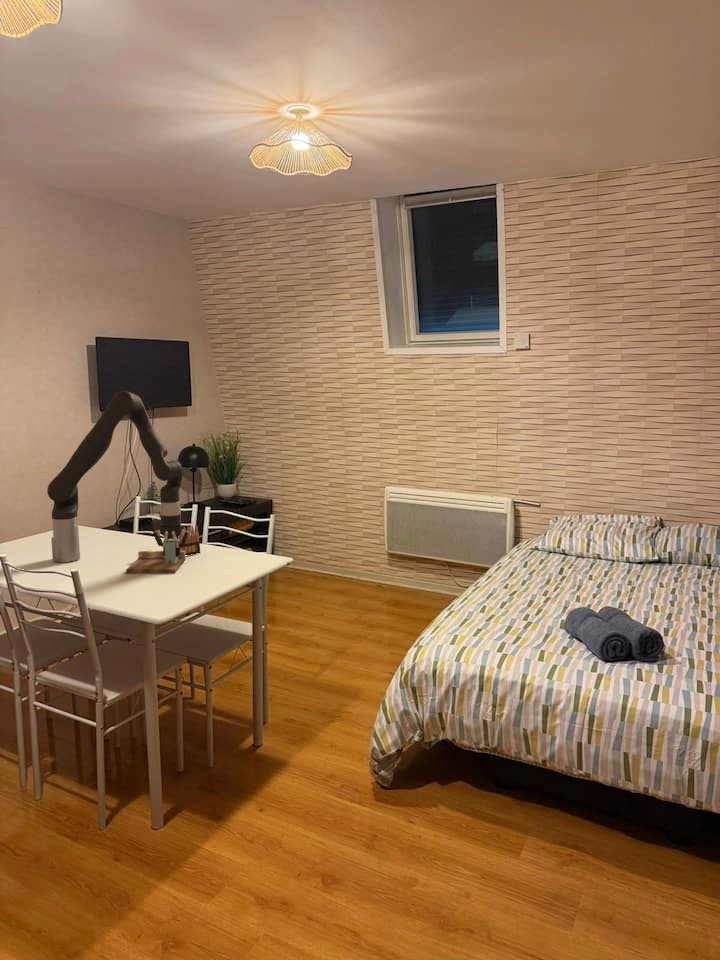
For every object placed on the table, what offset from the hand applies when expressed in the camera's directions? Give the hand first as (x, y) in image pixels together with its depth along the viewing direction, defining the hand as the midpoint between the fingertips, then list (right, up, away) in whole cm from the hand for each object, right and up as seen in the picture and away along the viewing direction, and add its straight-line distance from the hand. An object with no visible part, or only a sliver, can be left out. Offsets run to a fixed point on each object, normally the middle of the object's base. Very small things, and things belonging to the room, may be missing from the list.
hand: (172, 556), depth 260 cm
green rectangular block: (0, -2, 0) cm, 2 cm away
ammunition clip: (+2, -1, +14) cm, 14 cm away
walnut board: (-5, -4, -3) cm, 7 cm away
